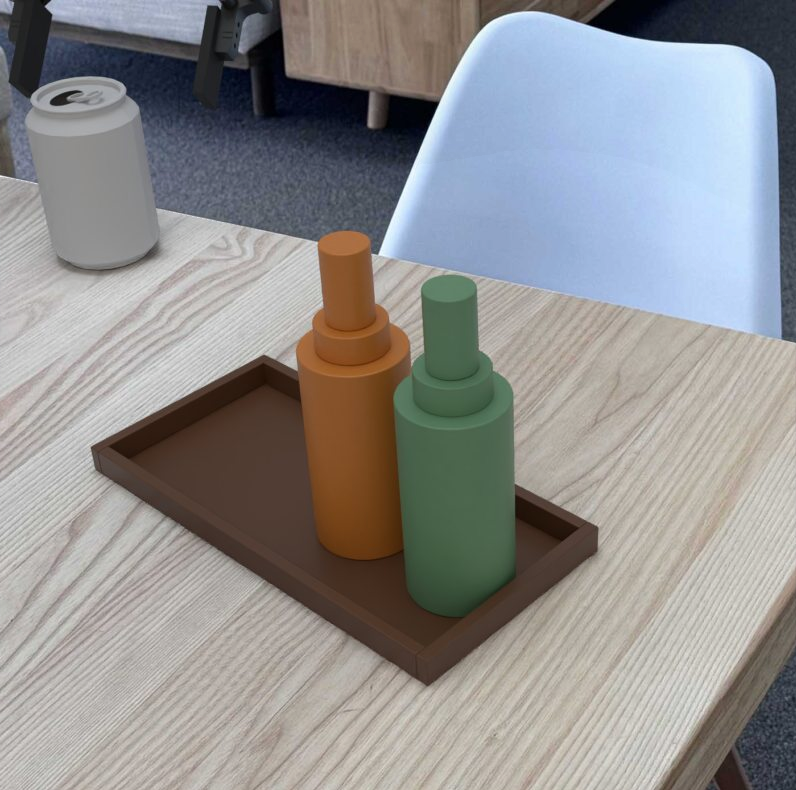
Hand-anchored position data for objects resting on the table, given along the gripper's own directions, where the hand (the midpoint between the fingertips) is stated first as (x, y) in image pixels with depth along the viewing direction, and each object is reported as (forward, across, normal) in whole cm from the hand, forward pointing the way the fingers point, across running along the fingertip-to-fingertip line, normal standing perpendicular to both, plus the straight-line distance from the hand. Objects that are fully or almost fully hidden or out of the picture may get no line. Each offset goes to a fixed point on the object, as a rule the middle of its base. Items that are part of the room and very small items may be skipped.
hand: (112, 96), depth 98 cm
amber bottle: (+29, +27, -16) cm, 43 cm away
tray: (+29, +25, -15) cm, 41 cm away
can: (+10, 0, +4) cm, 11 cm away
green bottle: (+32, +32, -19) cm, 49 cm away
